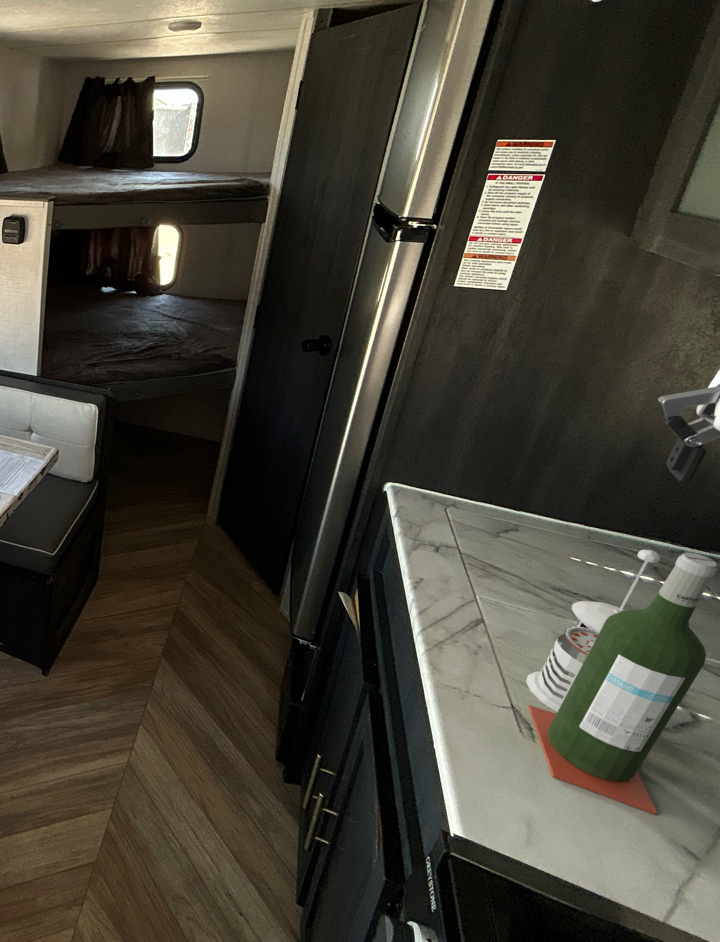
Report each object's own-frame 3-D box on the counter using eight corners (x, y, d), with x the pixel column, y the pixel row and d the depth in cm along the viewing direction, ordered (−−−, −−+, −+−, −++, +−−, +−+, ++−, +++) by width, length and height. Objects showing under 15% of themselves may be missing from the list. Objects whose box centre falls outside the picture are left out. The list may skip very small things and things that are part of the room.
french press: (529, 704, 87) (604, 555, 78) (521, 653, 96) (587, 514, 86) (631, 743, 81) (724, 587, 72) (612, 685, 90) (693, 540, 81)
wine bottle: (614, 740, 81) (726, 548, 70) (647, 793, 75) (778, 591, 63) (535, 718, 84) (631, 531, 73) (561, 767, 78) (671, 570, 67)
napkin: (618, 736, 82) (619, 734, 82) (655, 815, 73) (657, 812, 73) (527, 706, 87) (529, 704, 87) (552, 776, 77) (553, 774, 77)
